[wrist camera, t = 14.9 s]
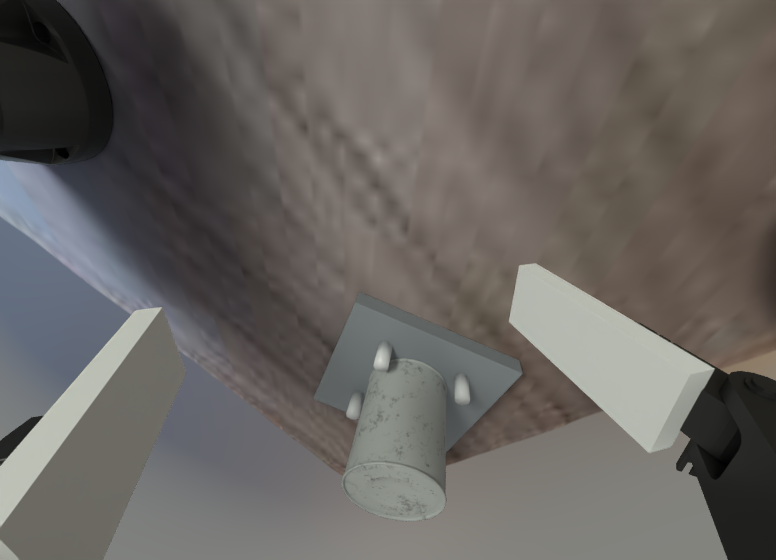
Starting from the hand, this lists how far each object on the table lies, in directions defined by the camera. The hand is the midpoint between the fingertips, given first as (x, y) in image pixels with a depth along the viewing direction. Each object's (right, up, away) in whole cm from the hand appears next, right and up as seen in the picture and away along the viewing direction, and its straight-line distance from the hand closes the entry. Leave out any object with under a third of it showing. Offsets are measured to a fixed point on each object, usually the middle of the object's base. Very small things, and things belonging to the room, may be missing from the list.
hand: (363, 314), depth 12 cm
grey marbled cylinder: (+3, -12, +27) cm, 30 cm away
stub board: (+4, -11, +29) cm, 31 cm away
